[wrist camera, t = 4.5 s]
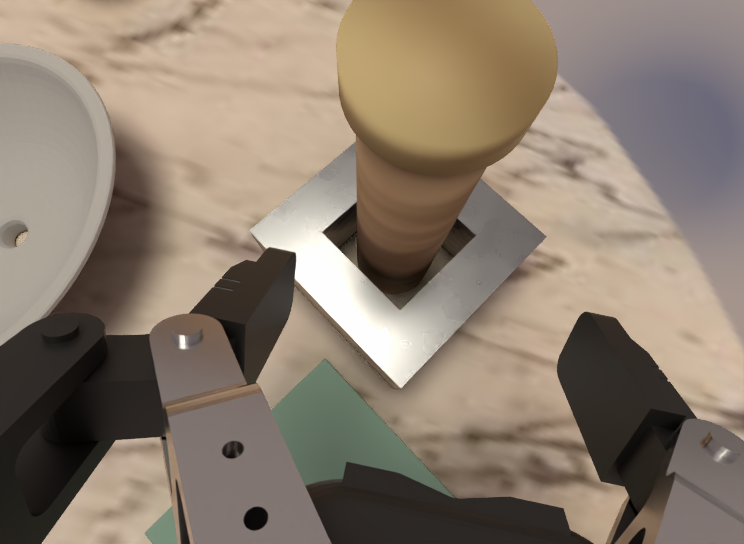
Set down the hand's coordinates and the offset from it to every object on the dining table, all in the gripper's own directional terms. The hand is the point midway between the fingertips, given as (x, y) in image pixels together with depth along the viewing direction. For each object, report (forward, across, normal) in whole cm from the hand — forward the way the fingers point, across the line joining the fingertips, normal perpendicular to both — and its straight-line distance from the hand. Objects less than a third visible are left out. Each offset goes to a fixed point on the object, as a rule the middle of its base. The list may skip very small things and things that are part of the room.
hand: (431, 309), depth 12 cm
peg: (+11, -1, -4) cm, 12 cm away
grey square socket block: (+11, -1, -4) cm, 12 cm away
